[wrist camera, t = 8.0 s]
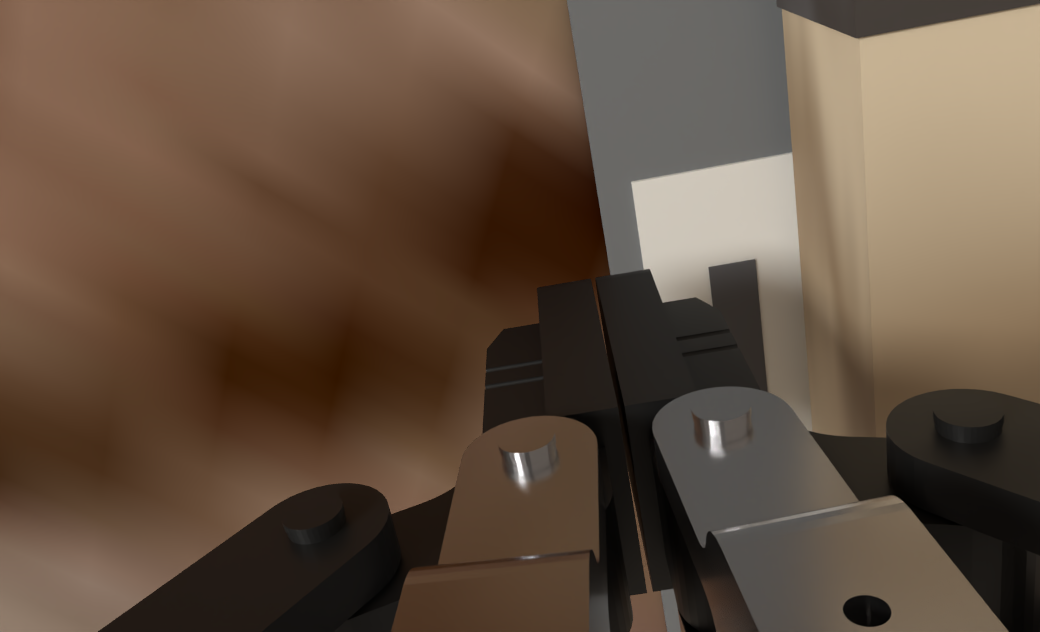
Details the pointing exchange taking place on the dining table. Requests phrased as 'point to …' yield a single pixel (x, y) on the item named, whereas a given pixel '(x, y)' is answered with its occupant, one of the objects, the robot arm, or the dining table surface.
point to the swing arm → (915, 200)
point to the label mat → (700, 169)
